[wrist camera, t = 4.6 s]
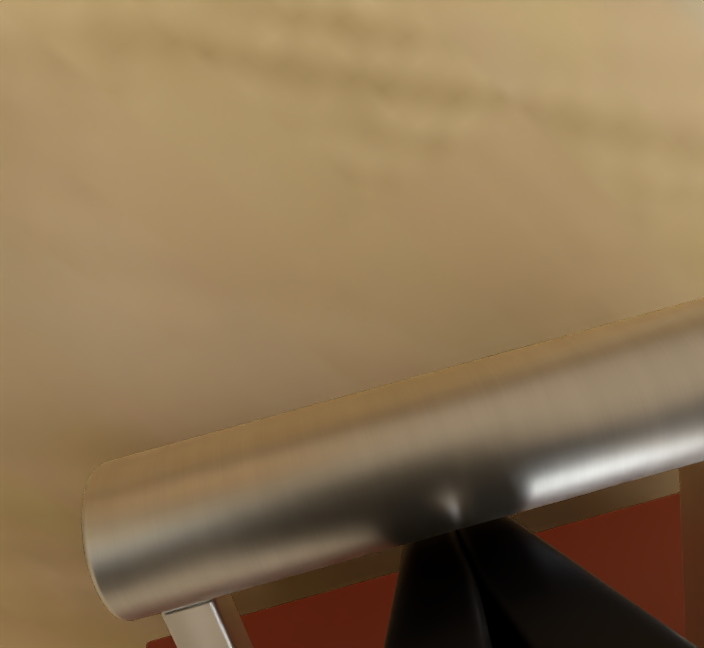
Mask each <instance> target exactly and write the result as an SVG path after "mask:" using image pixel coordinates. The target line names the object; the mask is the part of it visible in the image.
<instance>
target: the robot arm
mask: <svg viewBox="0 0 704 648" xmlns="http://www.w3.org/2000/svg"><path fill="white" fill-rule="evenodd" d="M384 648H698V647H697V646H695V645H694V644H692V643H691V642H689V641H688V640H687V639H685V638H684V637H682V636H681V635H679V634H678V633H677V632H675V631H674V630H672V629H671V628H669V627H668V626H666V625H665V624H664V623H662V622H661V621H659V620H658V619H656V618H655V617H654V616H652V615H651V614H649V613H648V612H646V611H645V610H644V609H642V608H641V607H639V606H638V605H636V604H635V603H633V602H632V601H631V600H629V599H628V598H626V597H625V596H623V595H622V594H621V593H619V592H618V591H616V590H615V589H613V588H612V587H610V586H609V585H608V584H606V583H605V582H603V581H602V580H600V579H599V578H598V577H596V576H595V575H593V574H592V573H590V572H589V571H588V570H586V569H585V568H583V567H582V566H580V565H579V564H577V563H576V562H575V561H573V560H572V559H570V558H569V557H567V556H566V555H565V554H563V553H562V552H560V551H559V550H557V549H556V548H554V547H553V546H552V545H550V544H549V543H547V542H546V541H544V540H543V539H542V538H540V537H539V536H537V535H536V534H534V533H533V532H532V531H530V530H529V529H527V528H526V527H524V526H523V525H521V524H520V523H519V522H517V521H516V520H514V519H513V518H511V517H510V516H509V515H508V516H505V517H501V518H497V519H494V520H490V521H487V522H483V523H480V524H476V525H472V526H469V527H465V528H462V529H458V530H455V531H451V532H448V533H444V534H440V535H437V536H433V537H430V538H426V539H423V540H419V541H415V542H412V543H408V544H405V545H404V547H403V552H402V557H401V562H400V567H399V572H398V577H397V583H396V588H395V593H394V598H393V603H392V608H391V613H390V618H389V623H388V629H387V634H386V639H385V644H384Z"/></svg>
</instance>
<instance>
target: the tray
mask: <svg viewBox="0 0 704 648" xmlns="http://www.w3.org/2000/svg"><path fill="white" fill-rule="evenodd" d="M676 468H679V484H680V493H676V494H673V495H669V496H666V497H662V498H658V499H655V500H651V501H648V502H644V503H641V504H637V505H633V506H630V507H626V508H623V509H619V510H616V511H612V512H609V513H605V514H601V515H598V516H594V517H591V518H587V519H584V520H580V521H577V522H573V523H569V524H566V525H562V526H559V527H555V528H552V529H548V530H545V531H541V532H537V533H534V534H536V535H537V536H539V537H540V538H542V539H543V540H544V541H546V542H547V543H549V544H550V545H552V546H553V547H554V548H556V549H557V550H559V551H560V552H562V553H563V554H565V555H566V556H567V557H569V558H570V559H572V560H573V561H575V562H576V563H577V564H579V565H580V566H582V567H583V568H585V569H586V570H588V571H589V572H590V573H592V574H593V575H595V576H596V577H598V578H599V579H600V580H602V581H603V582H605V583H606V584H608V585H609V586H610V587H612V588H613V589H615V590H616V591H618V592H619V593H621V594H622V595H623V596H625V597H626V598H628V599H629V600H631V601H632V602H633V603H635V604H636V605H638V606H639V607H641V608H642V609H644V610H645V611H646V612H648V613H649V614H651V615H652V616H654V617H655V618H656V619H658V620H659V621H661V622H662V623H664V624H665V625H666V626H668V627H669V628H671V629H672V630H674V631H675V632H677V633H678V634H679V635H681V636H682V637H684V638H685V639H687V640H688V641H689V642H691V643H692V644H694V645H695V646H697V647H698V648H704V298H701V299H697V300H694V301H690V302H686V303H683V304H679V305H675V306H672V307H668V308H664V309H661V310H657V311H654V312H650V313H646V314H643V315H639V316H635V317H632V318H628V319H624V320H621V321H617V322H613V323H610V324H606V325H602V326H599V327H595V328H592V329H588V330H584V331H581V332H577V333H573V334H570V335H566V336H562V337H559V338H555V339H551V340H548V341H544V342H540V343H537V344H533V345H530V346H526V347H522V348H519V349H515V350H511V351H508V352H504V353H500V354H497V355H493V356H489V357H486V358H482V359H478V360H475V361H471V362H467V363H464V364H460V365H457V366H453V367H449V368H446V369H442V370H438V371H435V372H431V373H427V374H424V375H420V376H416V377H413V378H409V379H405V380H402V381H398V382H395V383H391V384H387V385H384V386H380V387H376V388H373V389H369V390H365V391H362V392H358V393H354V394H351V395H347V396H343V397H340V398H336V399H333V400H329V401H325V402H322V403H318V404H314V405H311V406H307V407H303V408H300V409H296V410H292V411H289V412H285V413H281V414H278V415H274V416H271V417H267V418H263V419H260V420H256V421H252V422H249V423H245V424H241V425H238V426H234V427H230V428H227V429H223V430H219V431H216V432H212V433H209V434H205V435H201V436H198V437H194V438H190V439H187V440H183V441H179V442H176V443H172V444H168V445H165V446H161V447H157V448H154V449H150V450H147V451H143V452H139V453H136V454H132V455H128V456H125V457H121V458H117V459H114V460H110V461H106V462H104V463H102V464H101V465H100V466H98V467H97V468H96V469H95V470H94V471H93V472H92V473H91V475H90V477H89V478H88V481H87V483H86V486H85V490H84V494H83V501H82V511H81V527H82V539H83V547H84V553H85V558H86V562H87V566H88V570H89V573H90V577H91V580H92V582H93V585H94V587H95V590H96V592H97V594H98V596H99V598H100V599H101V601H102V603H103V604H104V606H105V607H106V608H107V610H108V611H109V612H110V613H111V614H112V615H114V616H115V617H117V618H119V619H122V620H127V621H133V620H137V619H141V618H144V617H148V616H151V615H155V614H158V613H161V615H162V618H163V620H164V622H165V624H166V626H167V628H168V630H169V632H170V634H171V636H168V637H164V638H160V639H157V640H153V641H150V642H148V643H147V645H146V648H384V644H385V639H386V634H387V629H388V623H389V618H390V613H391V608H392V603H393V598H394V593H395V588H396V583H397V577H398V572H395V573H392V574H388V575H385V576H381V577H377V578H374V579H370V580H367V581H363V582H360V583H356V584H353V585H349V586H345V587H342V588H338V589H335V590H331V591H328V592H324V593H321V594H317V595H313V596H310V597H306V598H303V599H299V600H296V601H292V602H289V603H285V604H281V605H278V606H274V607H271V608H267V609H264V610H260V611H256V612H253V613H249V614H246V615H242V616H240V615H239V613H238V610H237V608H236V605H235V603H234V601H233V598H232V596H231V594H230V593H233V592H237V591H241V590H244V589H248V588H251V587H255V586H258V585H262V584H266V583H269V582H273V581H276V580H280V579H283V578H287V577H290V576H294V575H298V574H301V573H305V572H308V571H312V570H315V569H319V568H323V567H326V566H330V565H333V564H337V563H340V562H344V561H348V560H351V559H355V558H358V557H362V556H365V555H369V554H373V553H376V552H380V551H383V550H387V549H390V548H394V547H398V546H401V545H405V544H408V543H412V542H415V541H419V540H423V539H426V538H430V537H433V536H437V535H440V534H444V533H448V532H451V531H455V530H458V529H462V528H465V527H469V526H472V525H476V524H480V523H483V522H487V521H490V520H494V519H497V518H501V517H505V516H508V515H512V514H515V513H519V512H522V511H526V510H530V509H533V508H537V507H540V506H544V505H547V504H551V503H555V502H558V501H562V500H565V499H569V498H572V497H576V496H580V495H583V494H587V493H590V492H594V491H597V490H601V489H605V488H608V487H612V486H615V485H619V484H622V483H626V482H629V481H633V480H637V479H640V478H644V477H647V476H651V475H654V474H658V473H662V472H665V471H669V470H672V469H676Z"/></svg>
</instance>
